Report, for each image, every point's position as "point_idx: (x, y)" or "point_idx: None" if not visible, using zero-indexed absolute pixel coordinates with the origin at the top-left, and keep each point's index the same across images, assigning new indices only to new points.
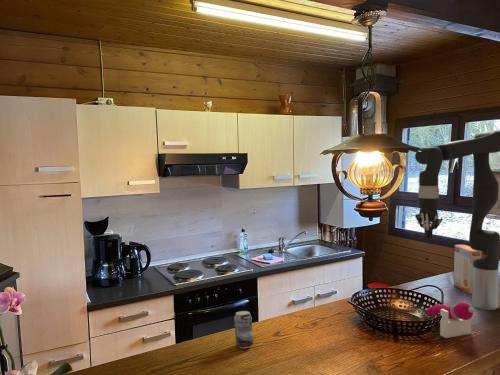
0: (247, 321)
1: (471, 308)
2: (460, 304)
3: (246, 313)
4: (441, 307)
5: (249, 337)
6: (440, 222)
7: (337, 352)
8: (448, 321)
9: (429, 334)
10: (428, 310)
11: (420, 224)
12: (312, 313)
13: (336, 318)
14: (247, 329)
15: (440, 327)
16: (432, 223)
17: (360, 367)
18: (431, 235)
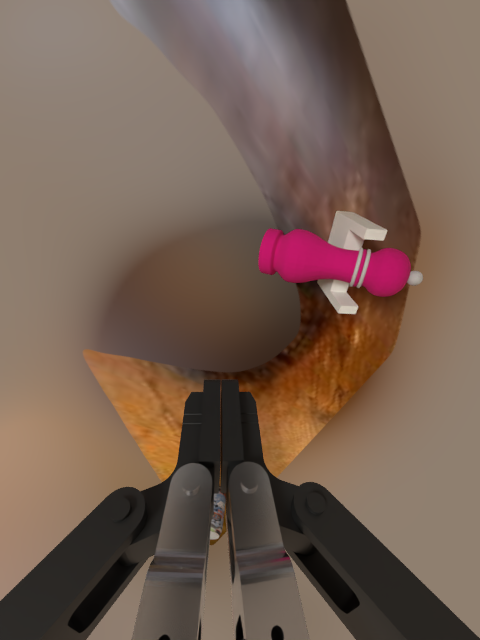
0: (222, 525)
1: (420, 282)
2: (390, 292)
3: (215, 534)
4: (312, 276)
5: (224, 502)
6: (467, 634)
7: (275, 431)
8: (342, 286)
9: (303, 298)
10: (267, 273)
11: (113, 566)
12: (140, 415)
13: (173, 395)
14: (223, 514)
15: (323, 290)
16: (346, 623)
17: (317, 426)
18: (255, 420)
